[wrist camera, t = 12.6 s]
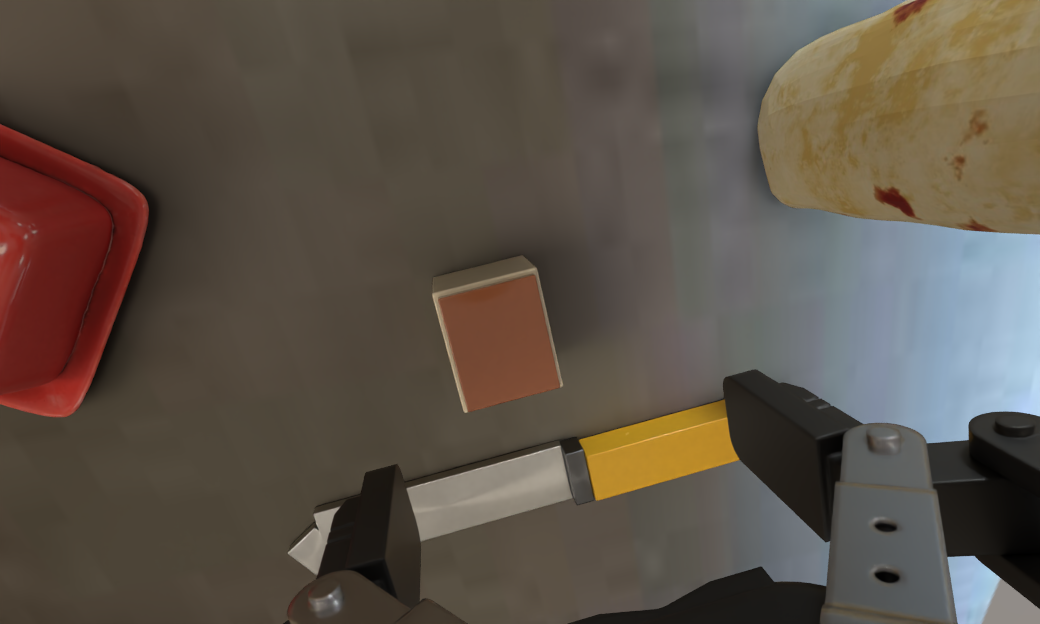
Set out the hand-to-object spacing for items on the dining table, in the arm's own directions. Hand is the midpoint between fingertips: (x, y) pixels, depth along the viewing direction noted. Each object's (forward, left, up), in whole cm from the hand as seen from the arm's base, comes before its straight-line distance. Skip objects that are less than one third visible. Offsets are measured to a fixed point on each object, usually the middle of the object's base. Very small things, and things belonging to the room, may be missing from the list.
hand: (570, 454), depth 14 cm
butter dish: (-14, -17, -16) cm, 28 cm away
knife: (+9, -4, -16) cm, 19 cm away
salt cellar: (0, -1, -16) cm, 16 cm away
